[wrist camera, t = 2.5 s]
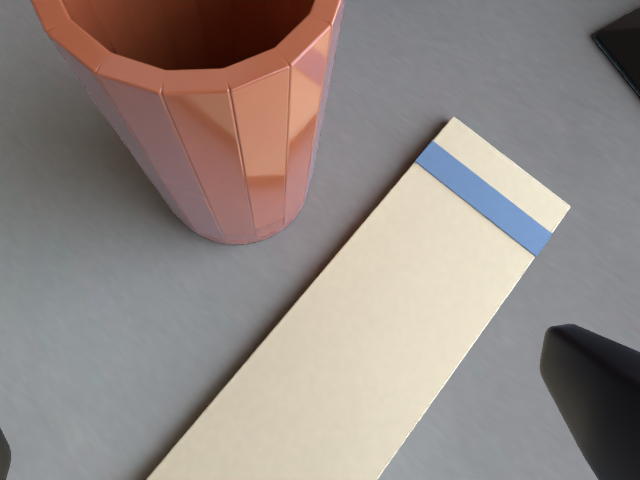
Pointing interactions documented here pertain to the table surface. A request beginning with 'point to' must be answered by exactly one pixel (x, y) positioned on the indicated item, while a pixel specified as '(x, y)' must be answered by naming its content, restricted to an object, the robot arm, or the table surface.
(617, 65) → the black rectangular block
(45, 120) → the table surface
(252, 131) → the pot
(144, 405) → the table surface
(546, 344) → the robot arm
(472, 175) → the towel
